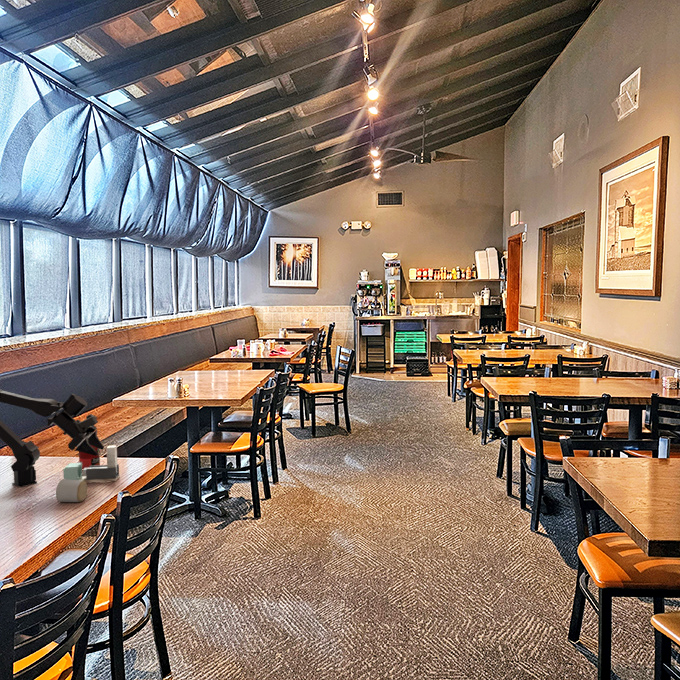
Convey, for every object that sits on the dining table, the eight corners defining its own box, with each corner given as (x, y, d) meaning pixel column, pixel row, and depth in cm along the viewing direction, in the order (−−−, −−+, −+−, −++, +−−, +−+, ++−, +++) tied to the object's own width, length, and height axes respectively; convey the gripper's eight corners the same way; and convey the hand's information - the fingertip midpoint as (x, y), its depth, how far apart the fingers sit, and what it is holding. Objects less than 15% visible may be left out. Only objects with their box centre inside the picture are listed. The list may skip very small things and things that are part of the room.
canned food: (95, 470, 236) (94, 444, 235) (75, 470, 236) (74, 444, 235) (103, 465, 243) (102, 439, 243) (84, 465, 244) (83, 439, 243)
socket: (82, 476, 224) (81, 462, 224) (77, 480, 219) (77, 466, 219) (67, 477, 224) (67, 463, 223) (63, 481, 218) (62, 467, 218)
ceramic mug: (79, 505, 195) (78, 482, 195) (55, 505, 196) (54, 482, 195) (93, 495, 206) (92, 473, 206) (70, 495, 206) (69, 474, 206)
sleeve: (119, 474, 226) (118, 464, 226) (116, 478, 221) (115, 467, 221) (90, 476, 224) (89, 465, 224) (86, 480, 220) (86, 469, 219)
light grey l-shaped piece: (117, 472, 225) (116, 445, 224) (115, 474, 222) (114, 447, 221) (85, 474, 223) (84, 446, 223) (82, 476, 220) (81, 448, 220)
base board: (119, 476, 227) (119, 474, 227) (115, 481, 221) (115, 479, 221) (67, 479, 224) (67, 477, 224) (62, 484, 218) (62, 481, 218)
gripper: (75, 413, 211) (108, 442, 213) (90, 404, 229) (120, 430, 232) (53, 436, 210) (87, 464, 213) (70, 425, 229) (101, 451, 231)
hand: (100, 451), depth 222 cm, fingers open, 9 cm apart
